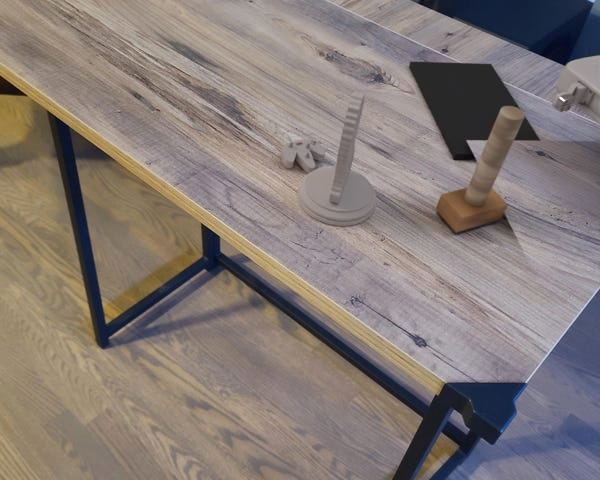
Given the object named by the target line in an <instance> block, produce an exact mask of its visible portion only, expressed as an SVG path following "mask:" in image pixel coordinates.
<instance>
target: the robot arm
mask: <svg viewBox="0 0 600 480" xmlns="http://www.w3.org/2000/svg"><path fill="white" fill-rule="evenodd" d="M555 90H556V91H557V92H558V93H557V94H556V95H555V96H554V99H553V101H552V103H551V106H552V107H553V108H554V109H556V110H557V111H558V112H560V113H563V112H568V111H570V110H571V108H572V106H573V105H574V106H576V107H577V108H578V109H579V110H581V112H583V113H585V115H587V116H588V117H589V118H591V119H592V120H593V121H594V122H596V123H597V124H598V125H600V54H599V55H593V56H587V57H586V56H585V57H581V58H577V59H574V60H571V61H569V62H567V63H566V64H565V66H564V67H563V69H562V70H561V73H560V75H559V77H558V79H557V82H556V85H555Z"/></svg>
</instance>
